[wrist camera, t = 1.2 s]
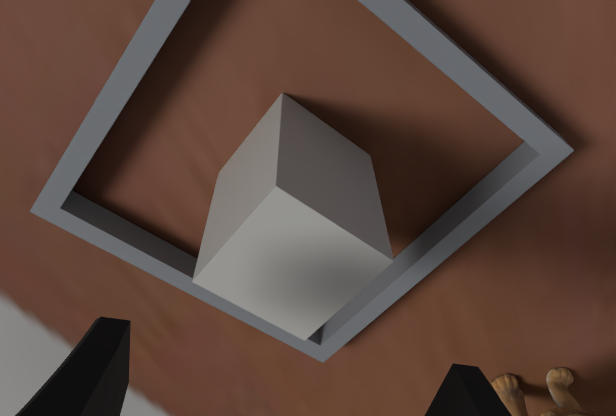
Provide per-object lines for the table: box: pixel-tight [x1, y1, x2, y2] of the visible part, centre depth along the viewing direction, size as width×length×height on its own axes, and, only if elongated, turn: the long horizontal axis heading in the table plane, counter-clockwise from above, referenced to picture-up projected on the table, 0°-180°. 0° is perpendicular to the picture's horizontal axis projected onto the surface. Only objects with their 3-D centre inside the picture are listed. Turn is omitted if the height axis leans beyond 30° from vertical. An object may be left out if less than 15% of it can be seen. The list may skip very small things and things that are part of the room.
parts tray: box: [30, 0, 574, 362], centre depth 19 cm, size 14×14×1 cm
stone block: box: [192, 92, 394, 341], centre depth 17 cm, size 4×4×6 cm
